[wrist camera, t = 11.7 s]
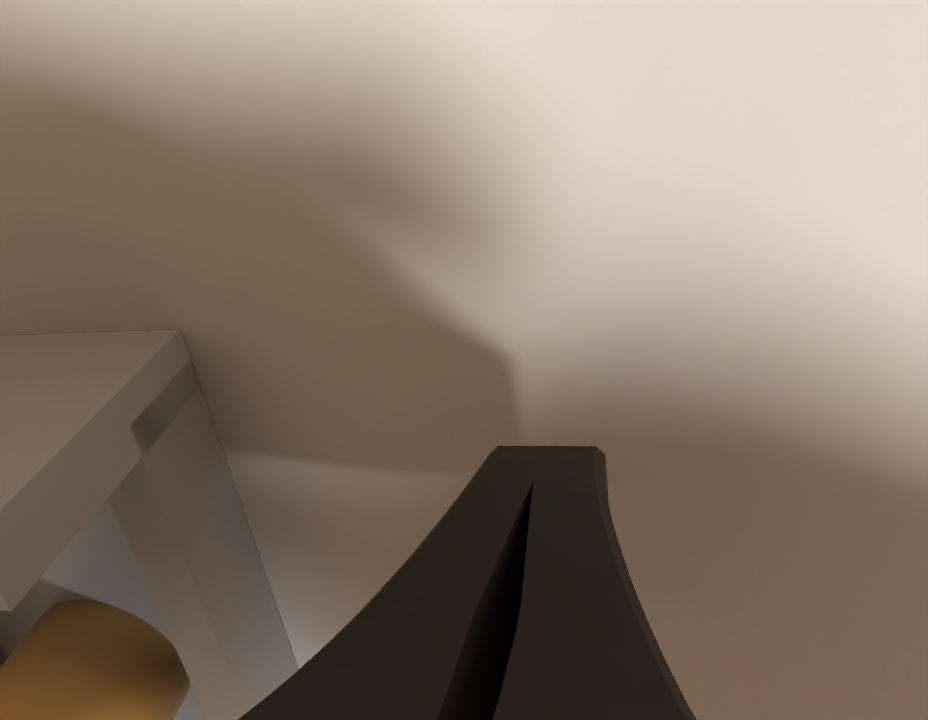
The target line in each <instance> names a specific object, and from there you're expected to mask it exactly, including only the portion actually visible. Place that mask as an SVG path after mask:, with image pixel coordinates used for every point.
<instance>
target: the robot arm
mask: <svg viewBox="0 0 928 720" xmlns="http://www.w3.org/2000/svg"><path fill="white" fill-rule="evenodd" d="M238 720H696V719H695V717H694V715H693V713H692V711H691V710H690V708H689V706H688V704H687V702H686V700H685V698H684V696H683V694H682V692H681V690H680V689H679V687H678V685H677V683H676V681H675V679H674V677H673V675H672V673H671V671H670V669H669V667H668V665H667V663H666V661H665V658H664V656H663V654H662V652H661V650H660V648H659V646H658V643H657V641H656V639H655V637H654V635H653V632H652V630H651V628H650V625H649V623H648V621H647V618H646V616H645V613H644V611H643V609H642V606H641V604H640V601H639V599H638V597H637V594H636V591H635V589H634V586H633V583H632V581H631V578H630V576H629V573H628V569H627V566H626V563H625V560H624V557H623V554H622V551H621V548H620V545H619V542H618V539H617V536H616V532H615V529H614V525H613V522H612V518H611V513H610V509H609V503H608V488H607V474H606V459H605V454H604V453H603V452H602V451H600V450H599V449H598V448H597V447H596V446H498V447H497V448H495V449H494V450H493V451H492V452H491V453H490V454H489V456H488V457H487V459H486V460H485V461H484V463H483V464H482V466H481V467H480V468H479V470H478V471H477V473H476V474H475V475H474V477H473V478H472V479H471V481H470V482H469V484H468V485H467V486H466V488H465V489H464V490H463V492H462V493H461V494H460V496H459V497H458V498H457V499H456V501H455V502H454V503H453V505H452V506H451V507H450V509H449V510H448V511H447V512H446V514H445V515H444V516H443V518H442V519H441V520H440V521H439V522H438V524H437V525H436V526H435V527H434V529H433V530H432V531H431V532H430V533H429V535H428V536H427V537H426V538H425V540H424V541H423V542H422V543H421V544H420V546H419V547H418V548H417V549H416V550H415V552H414V553H413V554H412V555H411V556H410V558H409V559H408V560H407V561H406V562H405V563H404V565H403V566H402V567H401V568H400V569H399V570H398V571H397V572H396V573H395V574H394V575H393V577H392V578H391V579H390V580H389V581H388V582H387V583H386V584H385V585H384V586H383V587H382V589H381V590H380V591H379V592H378V593H377V594H376V595H375V596H374V597H373V598H372V599H371V600H370V602H369V603H368V604H367V605H366V606H365V607H364V608H363V609H362V610H361V611H360V612H359V613H358V614H357V615H356V616H355V617H354V618H353V619H352V620H351V621H350V622H349V623H348V624H347V625H346V626H345V627H344V628H343V629H342V630H341V631H340V632H339V633H338V634H337V635H336V636H335V637H334V638H333V639H332V640H331V641H330V642H329V643H328V644H327V645H325V646H324V647H323V648H322V649H321V650H320V651H319V652H318V653H317V654H316V655H314V656H313V657H312V658H311V659H310V660H309V661H308V662H307V663H306V664H305V665H304V666H302V667H301V668H300V669H299V670H298V671H297V672H296V673H295V674H293V675H292V676H291V677H290V678H289V679H287V680H286V681H285V682H284V683H283V684H281V685H280V686H279V687H278V688H277V689H275V690H274V691H273V692H272V693H271V694H269V695H268V696H267V697H266V698H265V699H263V700H262V701H261V702H259V703H258V704H257V705H256V706H254V707H253V708H252V709H251V710H249V711H248V712H247V713H246V714H244V715H243V716H242V717H241V718H239V719H238Z"/></svg>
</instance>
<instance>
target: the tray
mask: <svg viewBox="0 0 928 720" xmlns="http://www.w3.org/2000/svg"><path fill="white" fill-rule="evenodd" d="M298 670H299V668H298V665H297V662H296V659H295V656H294V653H293V650H292V647H291V645H290V642H289V639H288V636H287V633H286V630H285V627H284V625H283V622H282V619H281V616H280V613H279V610H278V607H277V604H276V602H275V599H274V596H273V593H272V590H271V587H270V584H269V581H268V579H267V576H266V573H265V570H264V567H263V564H262V561H261V558H260V556H259V553H258V550H257V547H256V544H255V541H254V538H253V535H252V533H251V530H250V527H249V524H248V521H247V518H246V515H245V512H244V510H243V507H242V504H241V501H240V498H239V495H238V492H237V490H236V487H235V484H234V481H233V478H232V475H231V472H230V469H229V467H228V464H227V461H226V458H225V455H224V452H223V449H222V446H221V444H220V441H219V438H218V435H217V432H216V429H215V426H214V423H213V421H212V418H211V415H210V412H209V409H208V406H207V403H206V400H205V398H204V395H203V392H202V389H201V386H200V383H199V380H198V377H197V375H196V372H195V369H194V366H193V363H192V360H191V357H190V354H189V352H188V349H187V346H186V343H185V340H184V337H183V334H182V332H181V329H170V330H141V331H113V332H84V333H56V334H28V335H0V720H238V719H239V718H241V717H242V716H243V715H244V714H246V713H247V712H248V711H249V710H251V709H252V708H253V707H254V706H256V705H257V704H258V703H259V702H261V701H262V700H263V699H265V698H266V697H267V696H268V695H269V694H271V693H272V692H273V691H274V690H275V689H277V688H278V687H279V686H280V685H281V684H283V683H284V682H285V681H286V680H287V679H289V678H290V677H291V676H292V675H293V674H295V673H296V672H297V671H298Z"/></svg>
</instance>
